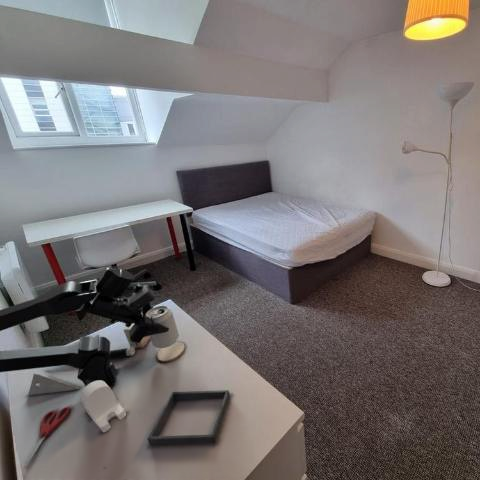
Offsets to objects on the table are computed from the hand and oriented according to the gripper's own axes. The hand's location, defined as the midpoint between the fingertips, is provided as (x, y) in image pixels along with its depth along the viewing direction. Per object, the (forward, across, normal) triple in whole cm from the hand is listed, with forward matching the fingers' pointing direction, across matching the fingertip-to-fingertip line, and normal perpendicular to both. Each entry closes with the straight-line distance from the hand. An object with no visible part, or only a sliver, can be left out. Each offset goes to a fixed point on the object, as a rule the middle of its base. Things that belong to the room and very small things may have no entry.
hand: (166, 323), depth 84 cm
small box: (+2, +11, +14) cm, 18 cm away
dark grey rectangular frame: (+8, -28, +8) cm, 30 cm away
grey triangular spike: (-8, +3, +26) cm, 27 cm away
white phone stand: (-4, -13, +21) cm, 25 cm away
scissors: (-14, -10, +29) cm, 34 cm away
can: (+4, 0, +6) cm, 7 cm away
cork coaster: (+7, 0, +9) cm, 11 cm away
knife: (-10, +10, +24) cm, 28 cm away
